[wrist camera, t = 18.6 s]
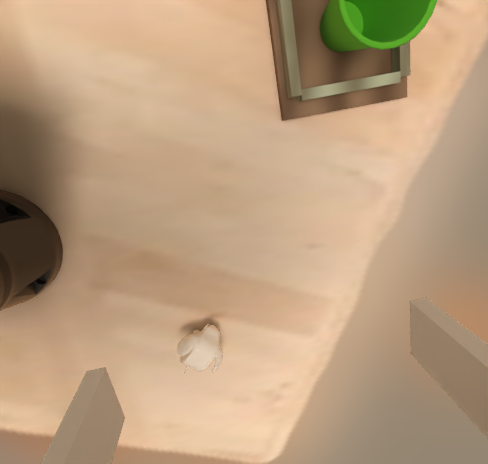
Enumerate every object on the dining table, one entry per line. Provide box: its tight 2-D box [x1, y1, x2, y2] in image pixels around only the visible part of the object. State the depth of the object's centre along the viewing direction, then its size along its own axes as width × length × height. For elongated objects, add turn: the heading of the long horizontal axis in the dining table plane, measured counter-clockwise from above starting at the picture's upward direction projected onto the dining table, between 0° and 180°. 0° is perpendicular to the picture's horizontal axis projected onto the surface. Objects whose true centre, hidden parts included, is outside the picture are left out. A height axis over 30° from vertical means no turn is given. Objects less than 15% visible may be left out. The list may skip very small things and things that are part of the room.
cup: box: [320, 0, 437, 52], centre depth 33 cm, size 9×9×11 cm
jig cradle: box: [266, 0, 410, 120], centre depth 38 cm, size 16×18×3 cm
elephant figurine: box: [177, 323, 223, 373], centre depth 47 cm, size 7×8×6 cm
